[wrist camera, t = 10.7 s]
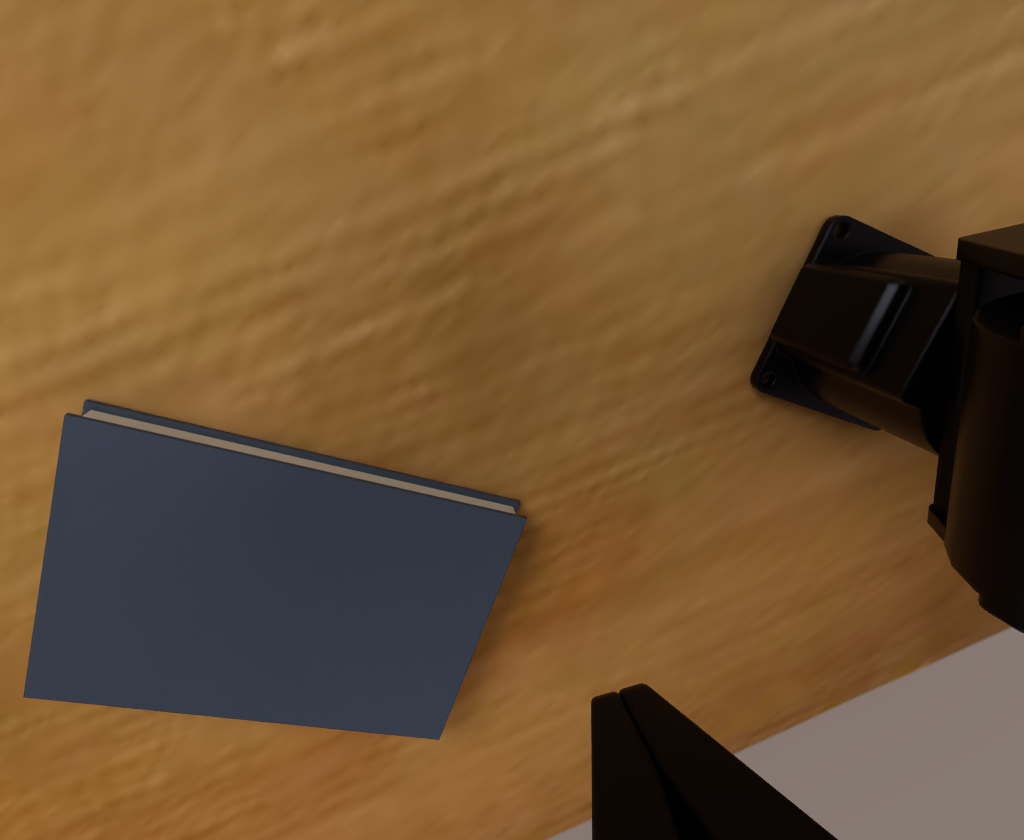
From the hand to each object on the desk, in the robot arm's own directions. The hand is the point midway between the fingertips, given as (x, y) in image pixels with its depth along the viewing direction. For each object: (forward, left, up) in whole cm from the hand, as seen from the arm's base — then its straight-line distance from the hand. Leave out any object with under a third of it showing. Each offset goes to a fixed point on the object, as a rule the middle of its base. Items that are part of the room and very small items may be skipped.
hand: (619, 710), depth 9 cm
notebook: (+5, +8, -13) cm, 16 cm away
